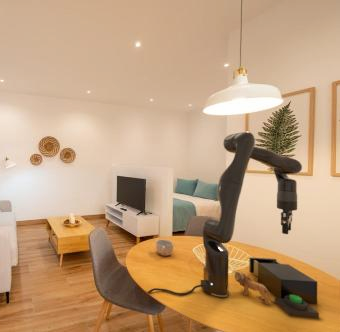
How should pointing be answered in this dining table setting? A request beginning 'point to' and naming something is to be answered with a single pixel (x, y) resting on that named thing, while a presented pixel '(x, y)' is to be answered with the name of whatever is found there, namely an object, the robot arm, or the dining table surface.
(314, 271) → the dining table surface
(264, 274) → the cabinet
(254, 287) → the lion figurine
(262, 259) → the drawer
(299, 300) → the button
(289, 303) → the control block
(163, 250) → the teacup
